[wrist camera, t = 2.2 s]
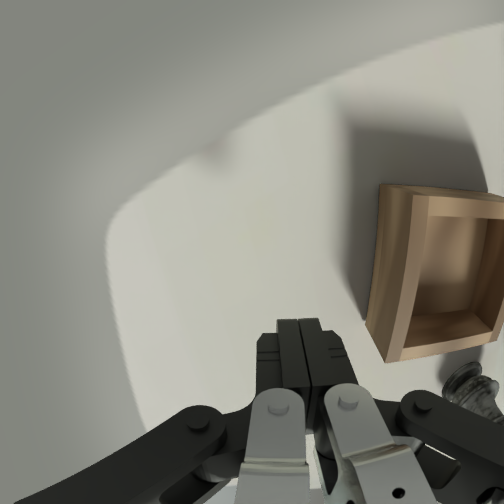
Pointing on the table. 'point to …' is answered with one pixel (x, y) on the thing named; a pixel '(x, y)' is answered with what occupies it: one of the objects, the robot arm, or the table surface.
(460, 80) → the table surface
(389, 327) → the socket block
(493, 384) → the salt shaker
